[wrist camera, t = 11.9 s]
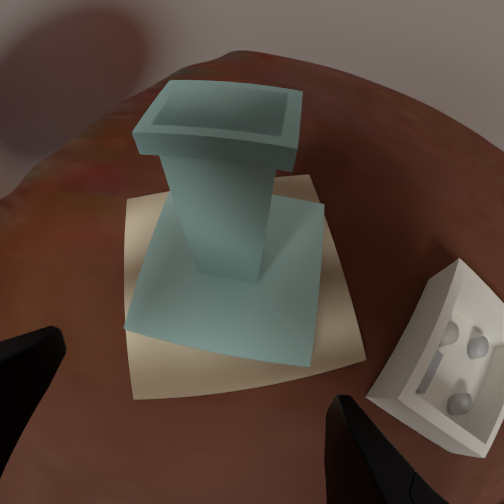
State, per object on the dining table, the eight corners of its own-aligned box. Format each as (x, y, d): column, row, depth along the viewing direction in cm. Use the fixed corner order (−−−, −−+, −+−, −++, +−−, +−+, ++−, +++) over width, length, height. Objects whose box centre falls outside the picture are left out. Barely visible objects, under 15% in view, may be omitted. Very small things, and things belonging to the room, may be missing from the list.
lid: (302, 368, 15) (434, 336, 4) (135, 333, 15) (-11, 245, 4) (317, 218, 19) (378, 67, 8) (178, 196, 19) (140, 44, 9)
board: (362, 360, 15) (366, 359, 15) (137, 398, 14) (133, 399, 13) (307, 179, 21) (309, 174, 21) (129, 203, 20) (127, 199, 19)
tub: (449, 452, 12) (484, 458, 8) (365, 396, 14) (397, 399, 11) (496, 344, 15) (528, 334, 12) (428, 279, 18) (459, 257, 14)
